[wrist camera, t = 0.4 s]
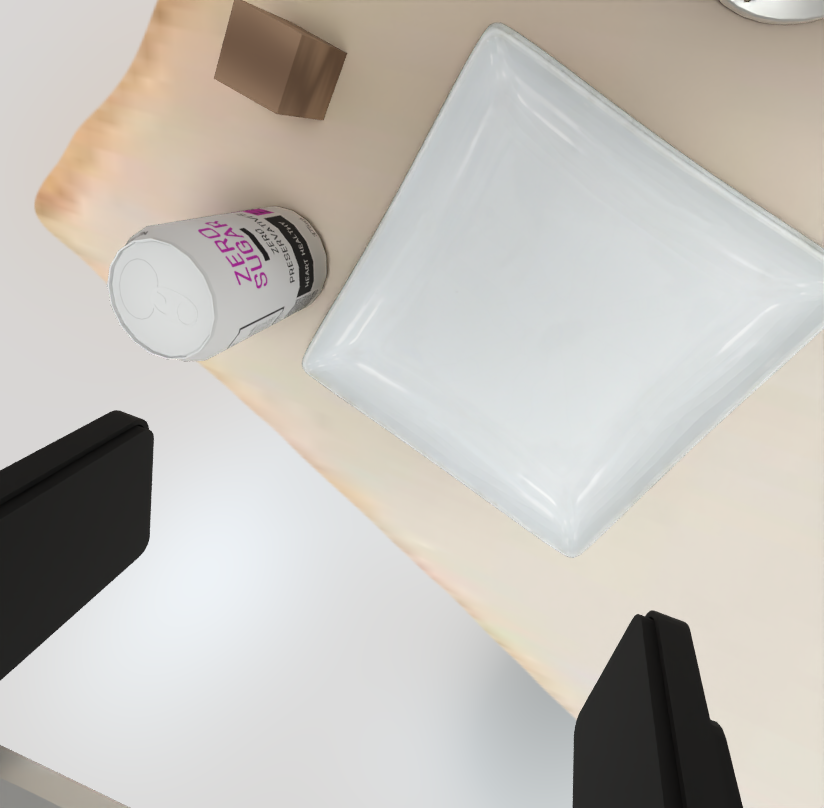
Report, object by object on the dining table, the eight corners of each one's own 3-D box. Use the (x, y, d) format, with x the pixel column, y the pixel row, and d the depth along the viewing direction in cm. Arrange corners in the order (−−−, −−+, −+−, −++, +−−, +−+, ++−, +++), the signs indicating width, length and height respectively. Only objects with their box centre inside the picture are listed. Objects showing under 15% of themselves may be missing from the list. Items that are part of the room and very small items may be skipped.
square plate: (850, 272, 36) (877, 284, 33) (572, 538, 49) (571, 567, 46) (499, 24, 36) (490, 11, 33) (313, 355, 49) (292, 370, 46)
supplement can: (227, 284, 48) (91, 333, 35) (250, 187, 45) (108, 201, 31) (313, 326, 48) (207, 392, 34) (343, 232, 44) (238, 265, 31)
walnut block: (290, 22, 39) (235, -3, 33) (347, 53, 39) (301, 34, 33) (269, 89, 41) (213, 78, 35) (323, 120, 41) (276, 114, 35)
